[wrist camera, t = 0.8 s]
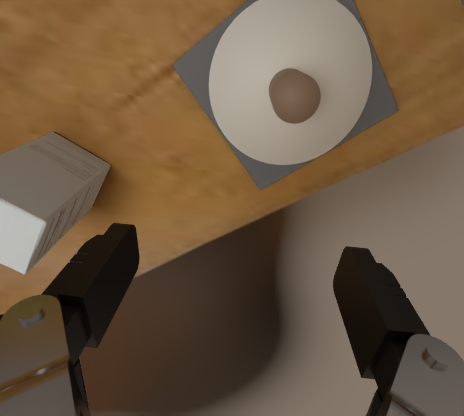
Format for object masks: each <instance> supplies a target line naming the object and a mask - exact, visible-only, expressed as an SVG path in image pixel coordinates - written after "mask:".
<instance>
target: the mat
mask: <svg viewBox="0 0 464 416" xmlns="http://www.w3.org/2000/svg"><path fill="white" fill-rule="evenodd" d="M256 1H258V0H248V1H246V2H245V3H244V4H243V5H242V6H241V7H239V8H238V9H237V10H236V11H235V12H234V13H232V14H231V15H230V16H229V17H228V18H227V19H225V20H224V21H223V22H222V23H221V24H220V25H218V26H217V27H216V28H215V29H214V30H213V31H211V32H210V33H209V34H208V35H207V36H206V37H204V38H203V39H202V40H201V41H200V42H199V43H197V44H196V45H195V46H194V47H193V48H192V49H190V50H189V51H188V52H187V53H186V54H185V55H183V56H182V57H181V58H180V59H179V60H178V61H176V62H175V63H174V64H173V65H172V66H173V67H174V68H175V70H176V71H177V73H178V74H179V75H180V77H181V78H182V80H183V81H184V82H185V84H186V85H187V87H188V88H189V90H190V91H191V92H192V94H193V95H194V97H195V98H196V99H197V101H198V102H199V104H200V105H201V107H202V108H203V109H204V111H205V112H206V114H207V115H208V116H209V118H210V119H211V121H212V122H213V123H214V125H215V126H216V128H217V129H218V131H219V132H220V133H221V135H222V136H223V138H224V139H225V140H226V142H227V143H228V145H229V146H230V148H231V149H232V150H233V152H234V153H235V155H236V156H237V157H238V159H239V160H240V162H241V163H242V164H243V166H244V167H245V169H246V170H247V172H248V173H249V174H250V176H251V177H252V179H253V180H254V181H255V183H256V184H257V186H258V187H259V189H260V190H262V189H264V188H266V187H267V186H269V185H271V184H273V183H274V182H276V181H278V180H279V179H281V178H283V177H285V176H286V175H288V174H290V173H292V172H293V171H295V170H297V169H298V168H300V167H302V166H304V165H305V164H307V163H309V162H311V161H312V160H314V159H316V158H317V157H316V158H314V159H312V160H309V161H306V162H302V163H298V164H291V165H275V164H268V163H264V162H261V161H258V160H255V159H253V158H251V157H249V156H247V155H245V154H244V153H242V152H241V151H240V150H238V149H237V148H236V147H235V146H234V145H233V144H232V143H231V142H230V141H229V140H228V139H227V138H226V137H225V135H224V134H223V132H222V131H221V129H220V127H219V126H218V124H217V121H216V119H215V117H214V114H213V111H212V107H211V103H210V97H209V73H210V68H211V63H212V59H213V56H214V53H215V50H216V48H217V45H218V43H219V41H220V39H221V37H222V36H223V34H224V33H225V31H226V29H227V28H228V27H229V25H230V24H231V23H232V22H233V20H234V19H235V18H236V17H237V16H238V15H239V14H240V13H241V12H242V11H243V10H245V9H246V8H247V7H249V6H250V5H252V4H253V3H254V2H256ZM336 1H338V2H339V3H340V4H342V5H343V6H345V7H346V8H347V9H348V10H349V11H350V12H351V13H352V14H353V15H354V17H355V18H356V20H357V21H358V22H359V24H360V25H361V27H362V29H363V31H364V33H365V35H366V38H367V41H368V44H369V47H370V52H371V58H372V80H371V87H370V91H369V96H368V99H367V102H366V105H365V107H364V109H363V111H362V113H361V115H360V117H359V119H358V120H357V122H356V124H355V125H354V127H353V128H352V129H351V130H350V132H349V133H348V134H347V135H346V136H345V137H344V138H343V139H342V140H341V141H340V142H339V143H338V144H337V145H336V146H338V145H340V144H342V143H343V142H345V141H347V140H349V139H350V138H352V137H354V136H355V135H357V134H359V133H361V132H362V131H364V130H366V129H368V128H369V127H371V126H373V125H374V124H376V123H378V122H380V121H381V120H383V119H385V118H387V117H388V116H390V115H392V114H393V113H395V112H397V111H399V110H398V107H397V105H396V103H395V100H394V98H393V95H392V93H391V90H390V88H389V86H388V83H387V81H386V78H385V76H384V73H383V71H382V69H381V66H380V64H379V61H378V59H377V56H376V54H375V51H374V49H373V47H372V44H371V42H370V39H369V37H368V34H367V32H366V30H365V27H364V25H363V22H362V20H361V17H360V15H359V13H358V10H357V8H356V5H355V3H354V0H336ZM336 146H334V147H333V148H335V147H336ZM333 148H332V149H333ZM330 150H331V149H330ZM330 150H329V151H330ZM327 152H328V151H327ZM322 155H323V154H322ZM320 156H321V155H320ZM318 157H319V156H318Z"/></svg>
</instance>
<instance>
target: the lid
mask: <svg viewBox="0 0 464 416" xmlns="http://www.w3.org/2000/svg"><path fill="white" fill-rule="evenodd" d="M371 80H372V58H371V52H370V47H369V44H368V41H367V38H366V35H365V33H364V31H363V29H362V27H361V25H360V24H359V22H358V21H357V20H356V18H355V17H354V15H353V14H352V13H351V12H350V11H349V10H348V9H347V8H346V7H345V6H343V5H342V4H340V3H339V2H338V1H336V0H258V1H256V2H254V3H253V4H252V5H250V6H249V7H247V8H246V9H245V10H243V11H242V12H241V13H240V14H239V15H238V16H237V17H236V18H235V19H234V20H233V22H232V23H231V24H230V25H229V27H228V28H227V29H226V31H225V33H224V34H223V36H222V37H221V39H220V41H219V43H218V45H217V48H216V50H215V53H214V56H213V59H212V63H211V68H210V73H209V97H210V103H211V107H212V111H213V114H214V117H215V119H216V121H217V124H218V126H219V127H220V129H221V131H222V132H223V134H224V135H225V137H226V138H227V139H228V140H229V141H230V142H231V143H232V144H233V145H234V146H235V147H236V148H237V149H238V150H240V151H241V152H242V153H244V154H245V155H247V156H249V157H251V158H253V159H255V160H258V161H261V162H264V163H268V164H275V165H291V164H298V163H302V162H306V161H309V160H312V159H314V158H316V157H318V156H320V155H322V154H324V153H326V152H327V151H329V150H330V149H332V148H333V147H334V146H336V145H337V144H338V143H339V142H340V141H341V140H342V139H343V138H344V137H345V136H346V135H347V134H348V133H349V132H350V130H351V129H352V128H353V127H354V125H355V124H356V122H357V120H358V119H359V117H360V115H361V113H362V111H363V109H364V107H365V105H366V102H367V99H368V96H369V91H370V87H371Z"/></svg>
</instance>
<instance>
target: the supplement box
mask: <svg viewBox="0 0 464 416" xmlns="http://www.w3.org/2000/svg"><path fill="white" fill-rule="evenodd" d="M110 167H111V165H110V164H108V163H106V162H105V161H103V160H101V159H100V158H98V157H96V156H94V155H93V154H91V153H89V152H87V151H86V150H84V149H82V148H81V147H79V146H77V145H75V144H74V143H72V142H70V141H68V140H67V139H65V138H63V137H62V136H60V135H58V134H56V133H55V132H52V133H50V134H47V135H45V136H43V137H40V138H38V139H36V140H33V141H31V142H29V143H26V144H24V145H22V146H19V147H17V148H15V149H12V150H10V151H7V152H5V153H3V154H1V155H0V263H1V264H3V265H5V266H7V267H10V268H12V269H14V270H16V271H18V272H20V273H22V274H26V273H27V272H28V271H29V270H30V269H31V268H32V267H33V266H34V265H35V264H36V263H37V262H38V261H39V260H40V259H41V258H42V257H43V256H44V255H45V254H46V253H47V252H48V251H49V250H50V249H51V248H52V247H53V246H54V245H55V244H56V243H57V242H58V241H59V240H60V239H61V238H62V237H63V236H64V235H65V234H66V233H67V232H68V231H69V230H70V229H71V228H72V227H73V226H74V225H75V224H76V223H77V222H78V221H79V220H80V219H81V218H82V217H83V216H84V215H85V214H86V213H87V212H88V211H89V210H90V209H91V208H92V206H93V204H94V202H95V199H96V197H97V195H98V193H99V191H100V188H101V186H102V184H103V182H104V180H105V178H106V175H107V173H108V171H109V169H110Z"/></svg>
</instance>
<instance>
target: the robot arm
mask: <svg viewBox="0 0 464 416" xmlns="http://www.w3.org/2000/svg"><path fill="white" fill-rule="evenodd" d="M138 265H139V249H138V241H137V233H136V227H135V226H134V225H130V224H120V223H113V224H112V225H111V226H110V227H109V228H108V230H107V231H106V232H105V234H104V235H96V236H95V237H93V238H92V239H90V240H88V241H87V242H85V243H84V245H83V246H82V247H81V248H80V249H79V250H78V252H77V254H75V255H74V256H73V258H72V259H71V260H70V263H68V264H67V265H66V266H65V267H64V268H63V269H62V271H61V272H60V273H59V274H58V275H57V277H56V278H55V279H54V280H53V281H52V282H51V284H50V285H49V286H48V287H47V288H46V290H45V291H44V292H43V293H42V294H41V295H37V296H32V297H29V298H26V299H24V300H22V301H20V302H18V303H17V304H15V305H14V306H12V307H11V308H10V309H9V310H8V311H7V312H6V313H5V314H3V315H0V416H91V412H90V408H89V402H88V397H87V392H86V388H85V383H84V378H83V373H82V368H81V363H80V359H79V356H80V354H81V353H82V351H83V349H84V347H94V348H98V346H99V344H100V342H101V340H102V338H103V336H104V334H105V332H106V330H107V328H108V326H109V325H110V323H111V320H112V319H113V317H114V315H115V313H116V311H117V309H118V307H119V305H120V303H121V301H122V299H123V297H124V295H125V293H126V291H127V289H128V287H129V285H130V284H131V281H132V280H133V278H134V276H135V274H136V272H137V269H138ZM333 289H334V294H335V297H336V300H337V303H338V306H339V310H340V313H341V316H342V319H343V322H344V325H345V328H346V331H347V334H348V338H349V341H350V344H351V347H352V350H353V353H354V356H355V359H356V362H357V366H358V368H359V372H360V375H361V378H369V379H375V380H376V383H377V386H378V389H377V390H376V392H375V394H374V396H373V399H372V401H371V404H370V407H369V409H368V412H367V414H366V416H464V361H463V359H462V358H461V357H460V356H459V355H458V353H457V352H456V351H455V350H454V349H452V348H451V347H450V346H449V345H447V344H446V343H444V342H443V341H441V340H439V339H437V338H435V337H432V336H430V334H429V332H428V331H427V329H426V327H425V326H424V324H423V322H422V321H421V319H420V317H419V316H418V314H417V313H416V311H415V309H414V307H413V306H412V304H411V302H410V301H409V299H408V298H406V294H405V292H404V291H403V289H402V288H400V284H399V283H398V281H397V279H396V278H395V276H394V274H393V273H392V272H390V271H389V270H388V269H387V268H386V267H385V266H384V265H383V264H382V263H376V261H375V260H374V258H373V256H372V254H371V252H370V251H369V249H367V248H357V247H348V246H347V247H345V248H344V250H343V252H342V255H341V258H340V261H339V264H338V267H337V270H336V272H335V275H334V280H333Z"/></svg>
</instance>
